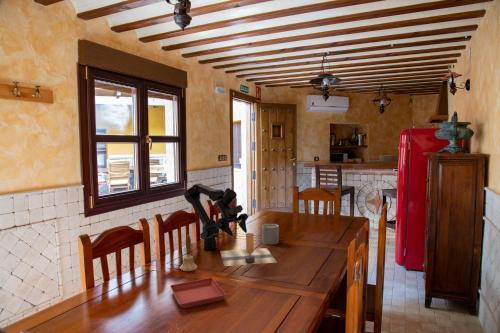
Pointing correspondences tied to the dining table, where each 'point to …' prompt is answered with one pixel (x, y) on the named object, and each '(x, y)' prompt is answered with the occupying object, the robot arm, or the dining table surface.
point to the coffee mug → (270, 234)
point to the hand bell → (188, 258)
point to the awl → (250, 247)
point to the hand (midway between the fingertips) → (239, 234)
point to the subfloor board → (239, 256)
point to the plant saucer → (197, 292)
